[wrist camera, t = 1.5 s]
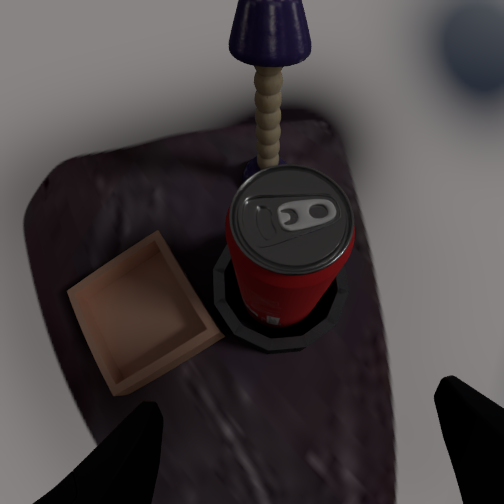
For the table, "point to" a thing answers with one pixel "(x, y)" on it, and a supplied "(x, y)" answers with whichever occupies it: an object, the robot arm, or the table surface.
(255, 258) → the beverage can
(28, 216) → the table surface
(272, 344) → the steel collar
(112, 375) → the terracotta tray
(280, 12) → the toy lamp
